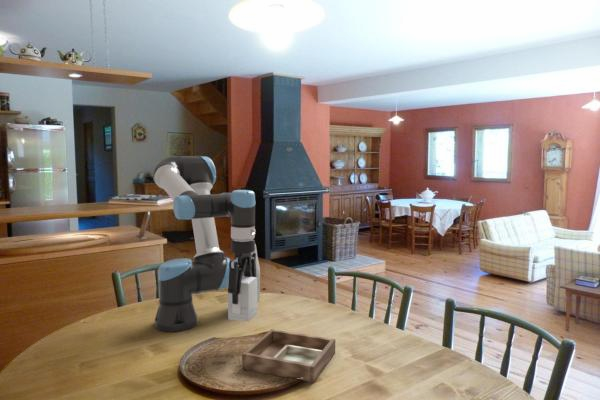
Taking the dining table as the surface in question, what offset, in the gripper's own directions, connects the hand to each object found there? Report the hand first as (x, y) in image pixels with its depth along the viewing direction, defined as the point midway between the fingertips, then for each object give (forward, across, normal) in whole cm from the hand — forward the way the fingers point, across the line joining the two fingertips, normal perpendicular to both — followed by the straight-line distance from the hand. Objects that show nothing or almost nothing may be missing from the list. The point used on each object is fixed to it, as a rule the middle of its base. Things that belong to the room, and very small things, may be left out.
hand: (242, 308), depth 147 cm
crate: (+12, -5, -19) cm, 23 cm away
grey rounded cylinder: (+13, +32, +15) cm, 38 cm away
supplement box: (+3, 0, 0) cm, 3 cm away
